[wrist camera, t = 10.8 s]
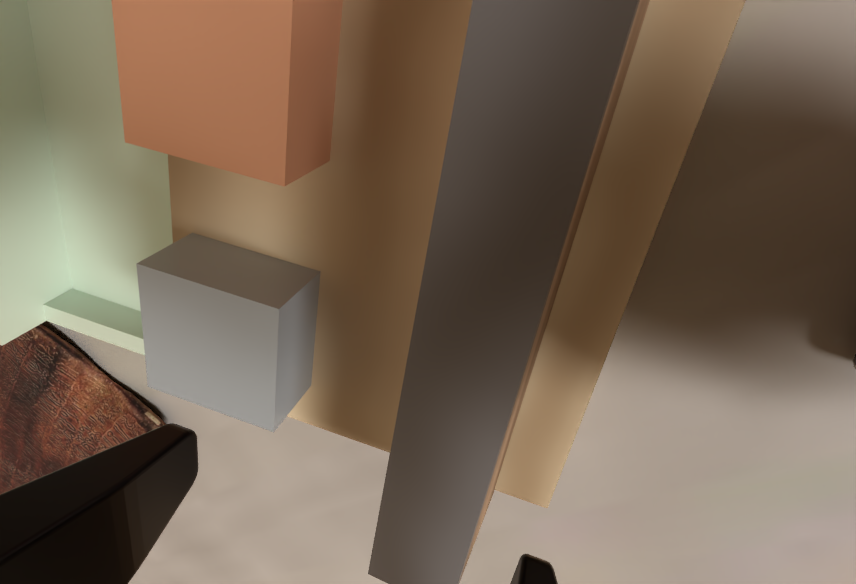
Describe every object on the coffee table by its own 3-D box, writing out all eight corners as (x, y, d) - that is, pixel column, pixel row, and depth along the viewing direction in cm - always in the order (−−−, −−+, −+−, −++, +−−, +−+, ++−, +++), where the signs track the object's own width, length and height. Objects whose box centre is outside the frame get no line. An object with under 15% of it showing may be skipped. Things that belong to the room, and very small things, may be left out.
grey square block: (320, 271, 18) (279, 309, 16) (310, 385, 20) (273, 432, 18) (192, 232, 19) (136, 263, 17) (196, 346, 21) (147, 386, 19)
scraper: (668, -56, 12) (663, -82, 8) (493, 494, 20) (448, 612, 16) (550, -76, 12) (492, -109, 9) (426, 466, 20) (367, 573, 16)
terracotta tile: (344, -22, 14) (293, -24, 12) (329, 160, 16) (284, 186, 14) (180, -55, 15) (105, -63, 13) (187, 123, 17) (124, 142, 15)
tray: (223, -145, 16) (117, -181, 13) (227, 347, 25) (163, 404, 21) (-10, -185, 18) (-161, -226, 14) (69, 294, 26) (-15, 339, 23)
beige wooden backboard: (736, -33, 14) (760, -38, 12) (556, 448, 22) (547, 508, 19) (224, -124, 17) (150, -145, 14) (227, 337, 25) (180, 378, 22)
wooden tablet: (47, 648, 40) (-89, 574, 39) (70, 617, 42) (-59, 545, 41) (173, 446, 26) (-30, 321, 25) (199, 413, 28) (11, 295, 27)
